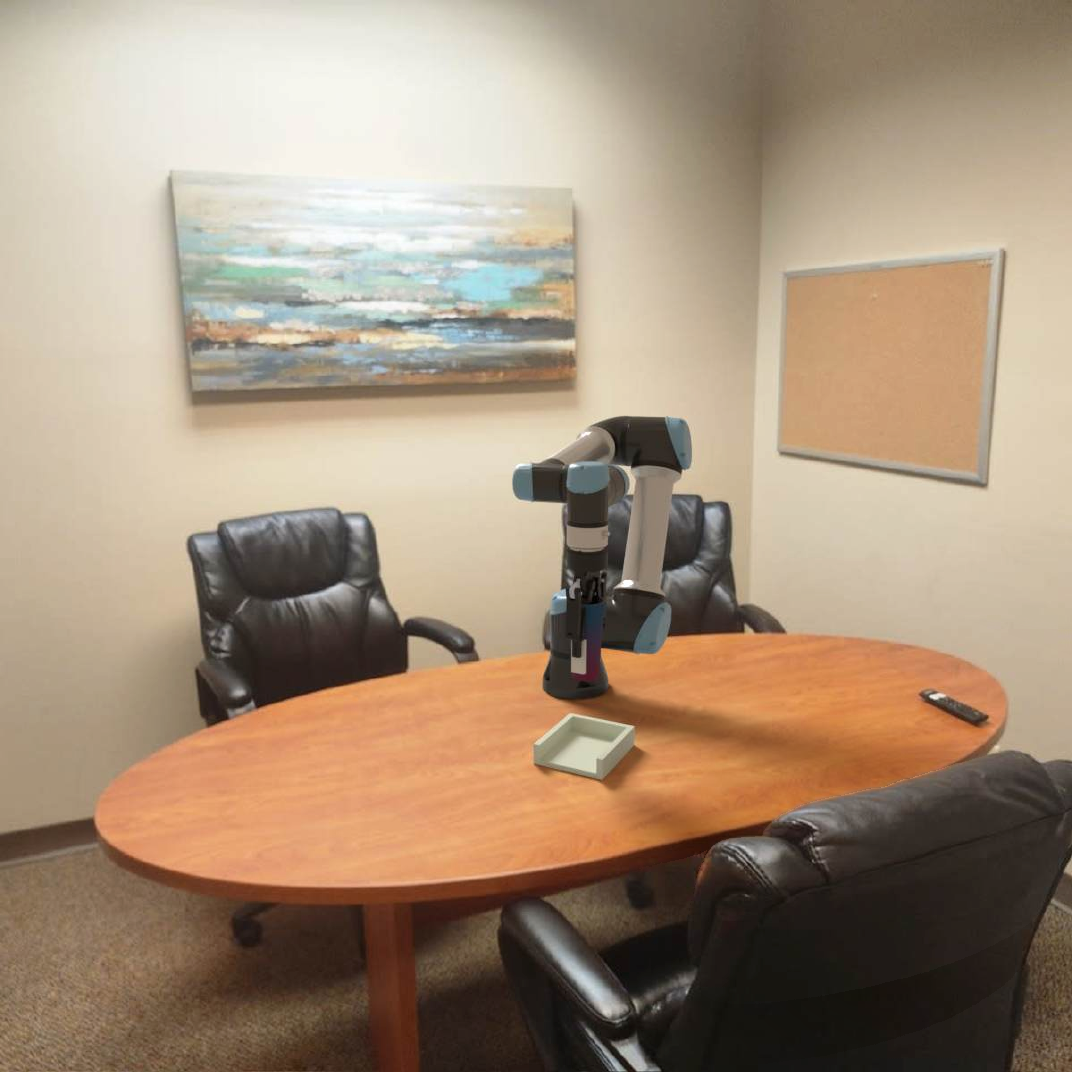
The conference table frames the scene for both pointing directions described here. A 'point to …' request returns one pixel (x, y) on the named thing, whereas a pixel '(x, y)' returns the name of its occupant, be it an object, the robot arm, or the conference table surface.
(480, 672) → the conference table surface
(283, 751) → the conference table surface
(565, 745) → the open sided tray
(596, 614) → the cup
